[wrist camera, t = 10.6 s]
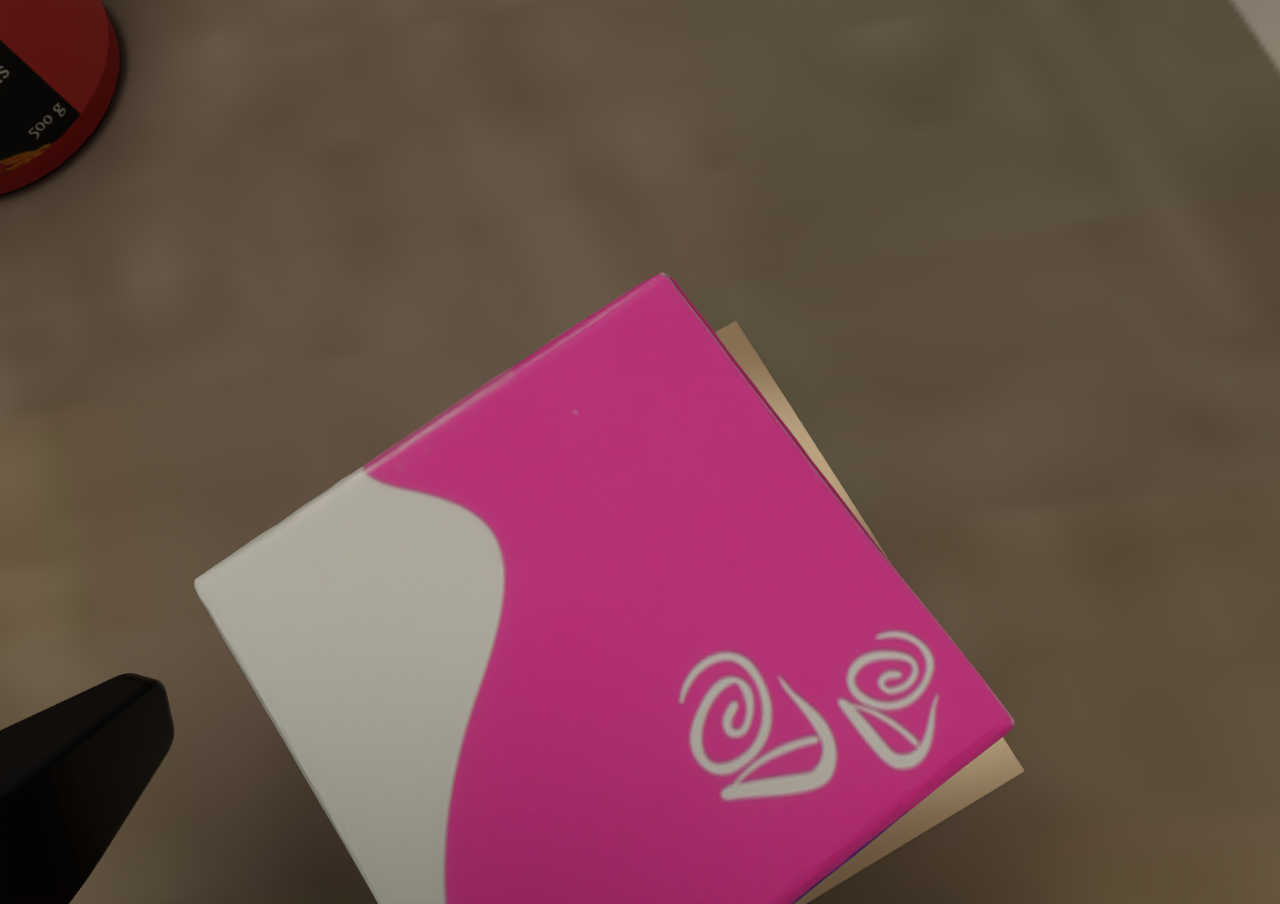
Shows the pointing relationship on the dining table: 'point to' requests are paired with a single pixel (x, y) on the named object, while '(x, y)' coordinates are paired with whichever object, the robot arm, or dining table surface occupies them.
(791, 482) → the supplement box
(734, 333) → the oak board
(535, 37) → the dining table surface
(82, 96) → the canned food
